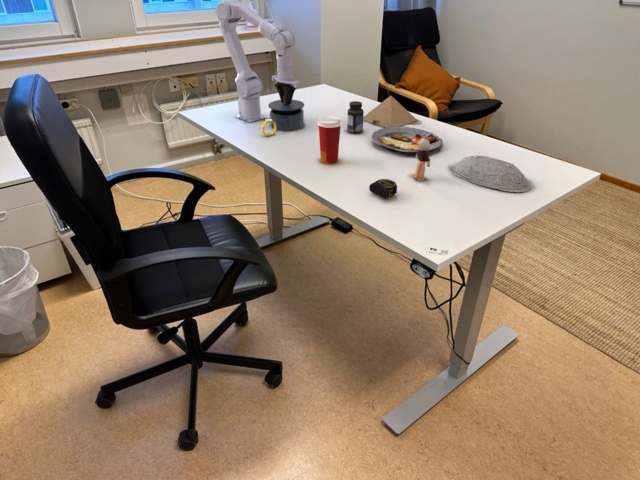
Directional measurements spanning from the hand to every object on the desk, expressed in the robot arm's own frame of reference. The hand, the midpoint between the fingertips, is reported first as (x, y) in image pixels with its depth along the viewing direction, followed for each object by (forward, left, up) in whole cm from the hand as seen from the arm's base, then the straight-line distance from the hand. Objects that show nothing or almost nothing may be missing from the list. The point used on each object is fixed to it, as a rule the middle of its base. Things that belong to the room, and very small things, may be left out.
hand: (286, 103), depth 174 cm
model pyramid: (+23, +35, -9) cm, 43 cm away
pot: (0, 0, -9) cm, 9 cm away
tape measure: (+66, -18, -9) cm, 69 cm away
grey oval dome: (+80, +16, -9) cm, 82 cm away
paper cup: (+37, -12, -9) cm, 40 cm away
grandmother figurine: (+66, -1, -9) cm, 67 cm away
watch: (+4, -12, -9) cm, 16 cm away
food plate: (+45, +19, -9) cm, 50 cm away
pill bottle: (+23, +15, -9) cm, 29 cm away
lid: (0, 0, -1) cm, 1 cm away
